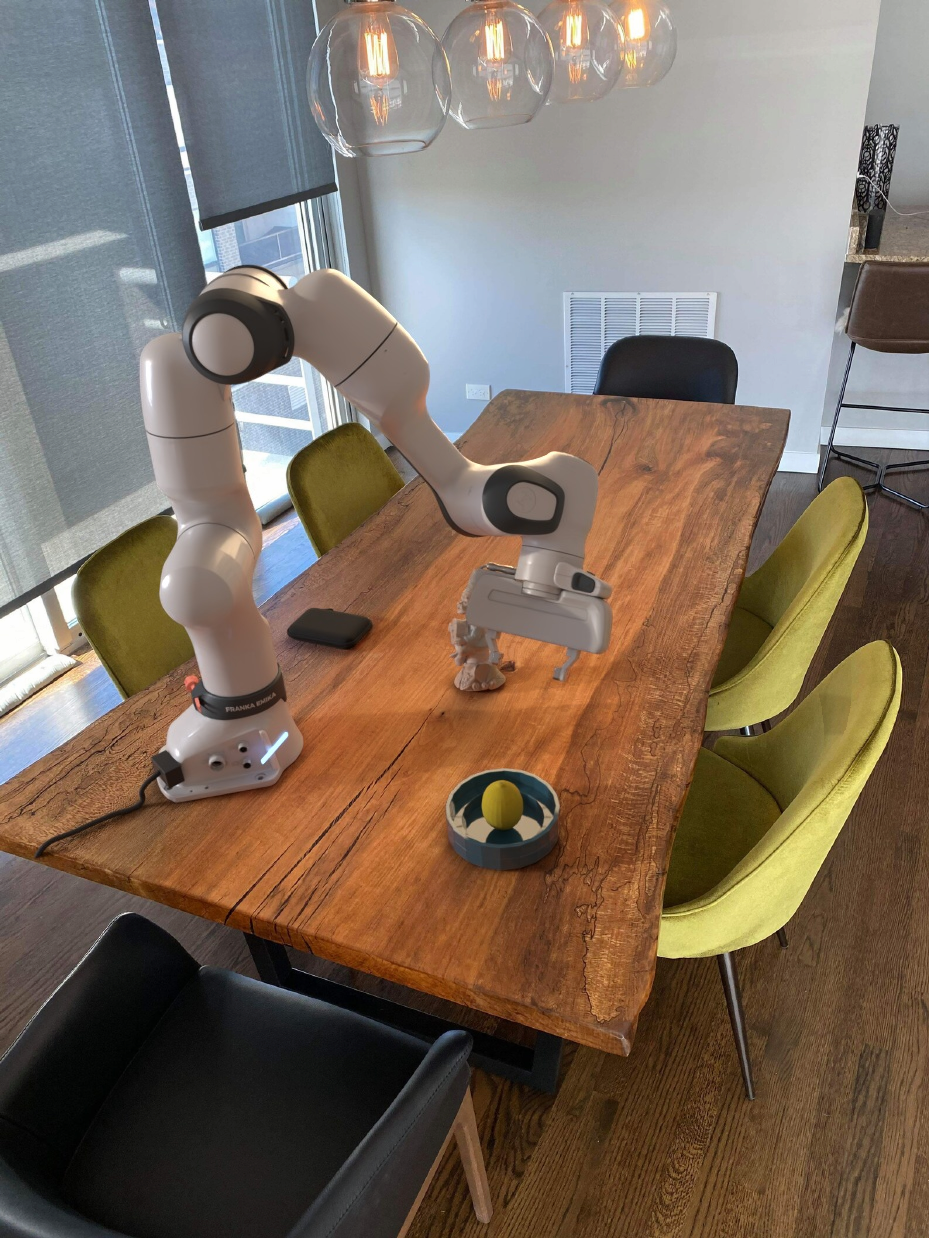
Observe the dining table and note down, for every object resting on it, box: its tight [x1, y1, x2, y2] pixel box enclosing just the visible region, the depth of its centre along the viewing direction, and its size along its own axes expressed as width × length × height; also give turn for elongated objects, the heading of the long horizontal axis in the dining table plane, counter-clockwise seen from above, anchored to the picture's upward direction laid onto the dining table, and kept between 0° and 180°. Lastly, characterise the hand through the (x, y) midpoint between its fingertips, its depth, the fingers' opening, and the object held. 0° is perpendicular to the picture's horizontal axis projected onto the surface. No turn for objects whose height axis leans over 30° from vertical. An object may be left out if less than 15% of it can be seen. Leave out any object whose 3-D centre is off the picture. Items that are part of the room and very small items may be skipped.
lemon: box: [482, 780, 523, 830], centre depth 122 cm, size 6×6×8 cm
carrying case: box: [286, 607, 374, 651], centre depth 170 cm, size 11×3×15 cm
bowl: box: [444, 767, 561, 871], centre depth 123 cm, size 15×15×4 cm
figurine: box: [447, 568, 506, 692], centre depth 150 cm, size 9×8×20 cm
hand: (526, 672), depth 125 cm, fingers open, 8 cm apart
